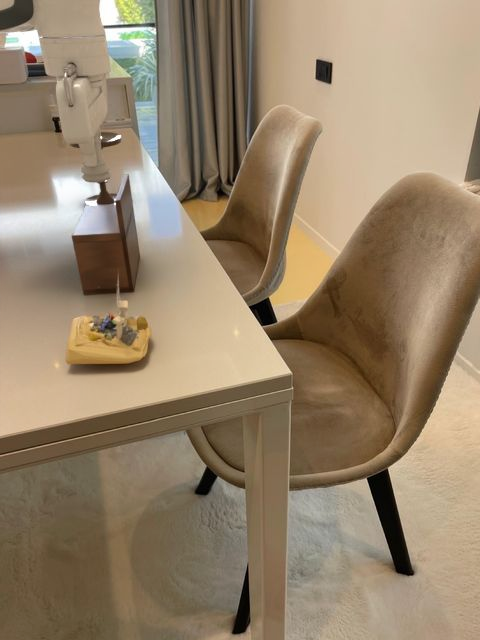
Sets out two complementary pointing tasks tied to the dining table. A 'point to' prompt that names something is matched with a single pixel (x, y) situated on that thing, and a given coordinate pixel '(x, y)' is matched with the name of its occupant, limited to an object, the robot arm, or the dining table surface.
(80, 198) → the dining table surface
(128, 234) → the wooden box with backrest
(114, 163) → the dining table surface
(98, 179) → the rook chess piece
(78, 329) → the cake
